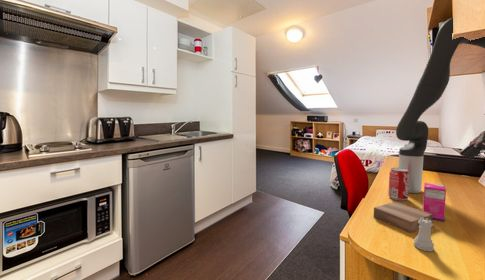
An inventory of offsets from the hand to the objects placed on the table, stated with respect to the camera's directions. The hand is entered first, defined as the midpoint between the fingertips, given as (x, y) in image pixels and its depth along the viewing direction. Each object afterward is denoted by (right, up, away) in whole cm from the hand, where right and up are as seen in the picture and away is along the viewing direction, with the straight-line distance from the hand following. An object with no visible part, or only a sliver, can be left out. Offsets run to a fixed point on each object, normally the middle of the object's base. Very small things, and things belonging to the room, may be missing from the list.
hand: (464, 156), depth 73 cm
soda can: (-6, -20, +23) cm, 31 cm away
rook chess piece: (-24, -24, -12) cm, 36 cm away
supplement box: (-6, -22, +6) cm, 24 cm away
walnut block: (-19, -23, +3) cm, 30 cm away
